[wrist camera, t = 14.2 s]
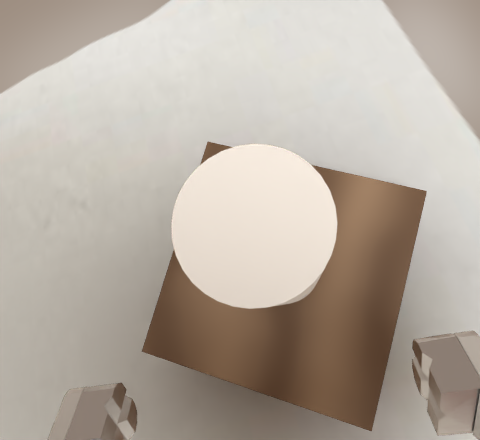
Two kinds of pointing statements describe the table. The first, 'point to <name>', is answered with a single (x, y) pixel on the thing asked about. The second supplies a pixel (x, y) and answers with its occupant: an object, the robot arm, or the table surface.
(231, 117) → the table surface
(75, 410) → the robot arm
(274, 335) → the walnut stand
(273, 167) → the tube
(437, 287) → the table surface
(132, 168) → the table surface
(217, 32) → the table surface
